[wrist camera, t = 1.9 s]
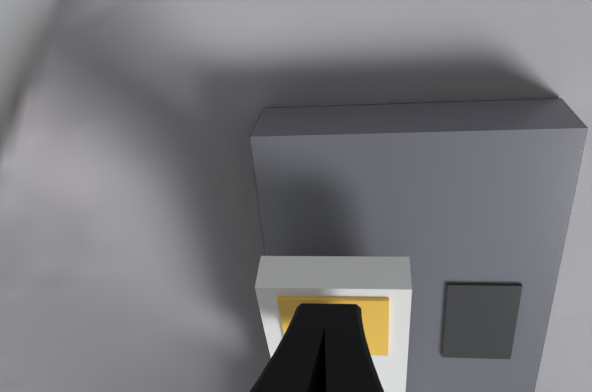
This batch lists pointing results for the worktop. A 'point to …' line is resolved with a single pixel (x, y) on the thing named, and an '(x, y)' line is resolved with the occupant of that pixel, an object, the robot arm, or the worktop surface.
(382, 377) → the outlet rocker
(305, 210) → the power strip
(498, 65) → the worktop surface
